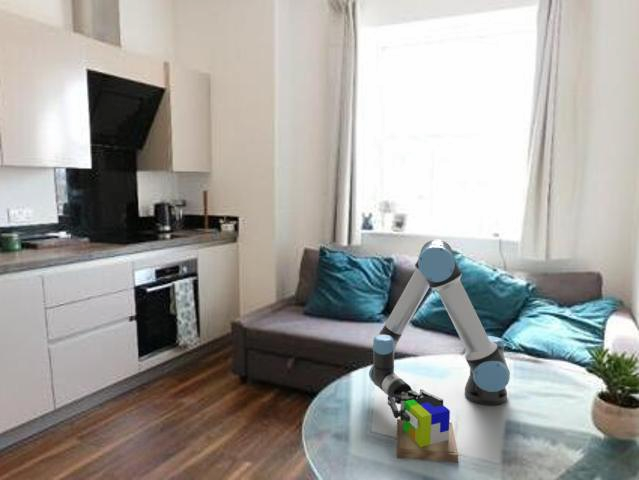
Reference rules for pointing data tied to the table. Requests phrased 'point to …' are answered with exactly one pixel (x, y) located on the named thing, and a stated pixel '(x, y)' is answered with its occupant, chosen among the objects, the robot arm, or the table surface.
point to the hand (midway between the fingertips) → (433, 420)
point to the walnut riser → (426, 447)
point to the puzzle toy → (427, 421)
